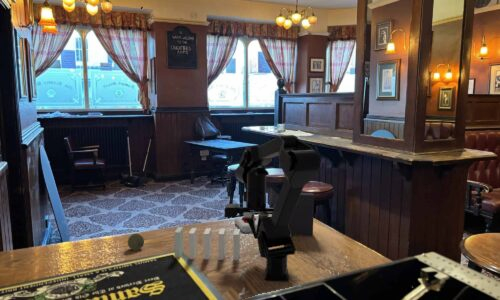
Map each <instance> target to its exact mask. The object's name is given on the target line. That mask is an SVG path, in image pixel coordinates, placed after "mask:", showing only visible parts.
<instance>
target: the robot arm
mask: <svg viewBox="0 0 500 300" xmlns="http://www.w3.org/2000/svg"><path fill="white" fill-rule="evenodd" d="M275 157H278V162H279V164H281V166H282V167H281V169H282V173H283V175H284V180H283V183H282V185H281V189H280V191H279V194H278V196H277V198H276V199H277V200H276V202H275V204H273V205H274V206H273V207H267V176H269V175H270V174H269V173H270V172H268V170H267V169H266V168H265V167H266V166H267V165H268V164H269V165H270V163H271V162H272V161H273V160H272V159H273V158H275ZM321 165H322V158H321V156H320V155H319V154H318V152H317V151H316V150H315V149H314V148H313V147H312V146H310V145H309V144H307V143H305V142H304V141H302V140H300V139H299V138H298V137H297V136H296V135H293V134H279V135H278V136H275V138H274V139H272V140H269V141H267V142H266V143H263V144H261V145H258V146H257V145H256V146H255V145H253V146H246V147H245V148H244V150H243V152H242V156H241V157H240V159H239V161H238V166H237V167H236V169H235V172H234V177H235V178H236V179H237V181H239V182H241V183H244V184H245V185H246V191H243V195H242V197H243V198H242V201H243V202H245V203H246V207H244V206H243V207H242V206H240V204H239V203H227V204H226V205H225V207H224V211H223V212H224V218H235V219H236V218H237V216H238V215H239V214H243V217H244V220H246V221H247V222H248V224H249V226H250V228H251V230H252V232H251V233H252V236H253V238H254V239H255V240H257V245H258V252H259V255H260V257H261V258H265V260H266V261H265V262H266V263H265V265H266V266H265V268H264V281H282V282H283V281H285V282H287V281H290V275H289V269H288V256H291V255H292V256H293V255H295V254H296V246H295V243H294V241H293V237H292V235H291V231H290V228H289V226H288V224H289V222H290V219H291V217H292V214H293V212H294V209H295V207H296V204H297V202H298V199H299V197H300V195H301V193H303V189H304V187H305V186H306V185H307V184H308V183H310V182H311V181H312V180H314V179H315V177H316V176H317V174H318V173H319V171H320V168H321ZM255 215H258V216H257V219H258V224H257V231H256V227H255V218H256V217H255ZM269 215H271V216H269ZM254 217H255V218H254Z"/></svg>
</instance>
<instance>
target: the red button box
mask: <svg viewBox="0 0 500 300" xmlns="http://www.w3.org/2000/svg"><path fill="white" fill-rule="evenodd" d="M254 218H255V227H256V231H257V224H258V217H257V218H256V217H255V216H254ZM234 223H235V225H236V226H237V227H238V229H240V231H241V232H242V233H252V230H251V228H250V226H249V224H248V222H247V221H246V220H244V216H238V217H237V216H236V217H235V219H234Z"/></svg>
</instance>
